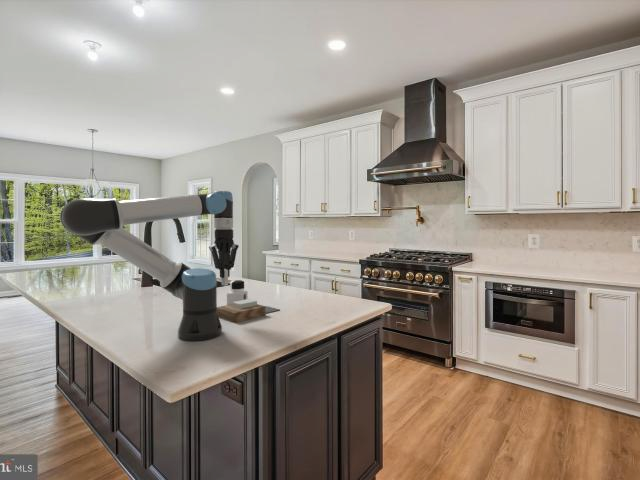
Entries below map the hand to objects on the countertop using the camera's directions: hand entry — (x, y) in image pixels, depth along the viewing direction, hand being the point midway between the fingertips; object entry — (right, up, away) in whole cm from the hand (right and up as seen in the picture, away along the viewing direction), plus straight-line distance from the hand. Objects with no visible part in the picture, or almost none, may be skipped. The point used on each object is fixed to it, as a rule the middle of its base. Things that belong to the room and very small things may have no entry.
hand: (224, 285), depth 150 cm
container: (0, -14, +21) cm, 25 cm away
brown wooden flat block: (+5, -14, +6) cm, 16 cm away
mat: (+14, -14, +16) cm, 25 cm away
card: (+7, -10, +8) cm, 14 cm away
